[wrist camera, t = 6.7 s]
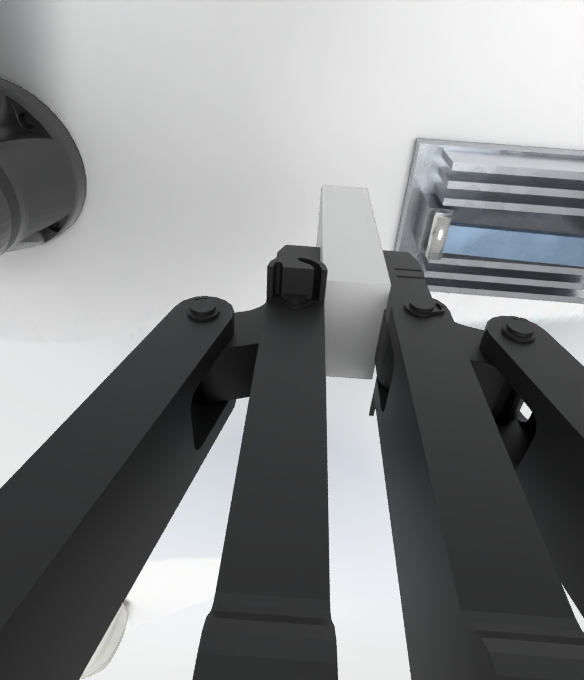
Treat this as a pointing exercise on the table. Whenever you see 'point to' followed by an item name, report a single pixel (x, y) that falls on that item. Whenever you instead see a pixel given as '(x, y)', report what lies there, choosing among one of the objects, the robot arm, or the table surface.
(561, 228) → the heatsink
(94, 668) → the vase
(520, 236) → the blue long flat bar
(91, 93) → the table surface
